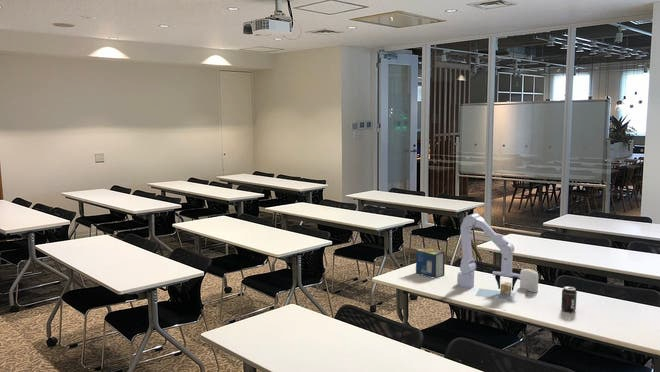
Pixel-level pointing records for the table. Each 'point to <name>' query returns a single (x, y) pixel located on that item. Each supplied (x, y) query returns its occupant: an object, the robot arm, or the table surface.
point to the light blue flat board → (494, 294)
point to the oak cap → (505, 288)
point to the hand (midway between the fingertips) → (505, 289)
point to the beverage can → (569, 299)
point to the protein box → (430, 262)
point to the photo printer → (529, 280)
